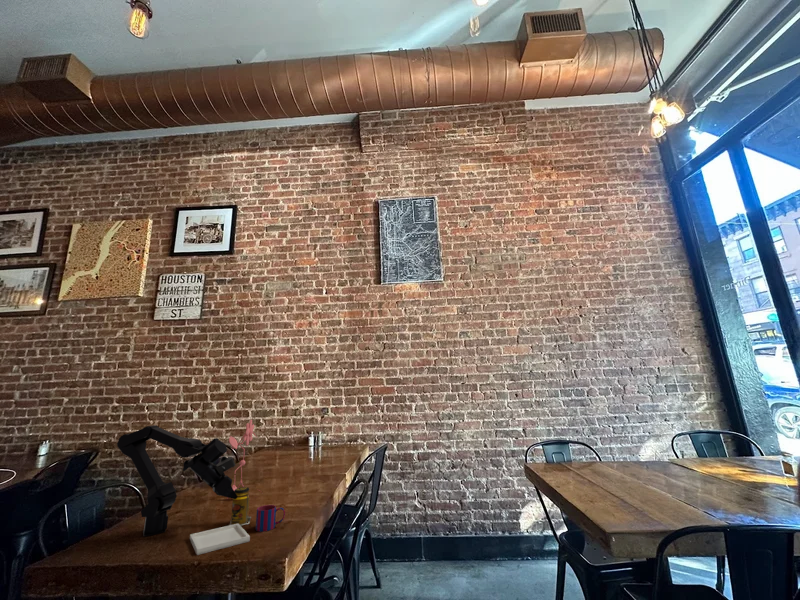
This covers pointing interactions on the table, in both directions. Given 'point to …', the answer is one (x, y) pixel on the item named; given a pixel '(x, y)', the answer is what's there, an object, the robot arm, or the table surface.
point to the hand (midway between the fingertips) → (233, 495)
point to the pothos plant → (234, 444)
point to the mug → (267, 518)
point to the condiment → (240, 507)
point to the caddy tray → (218, 538)
